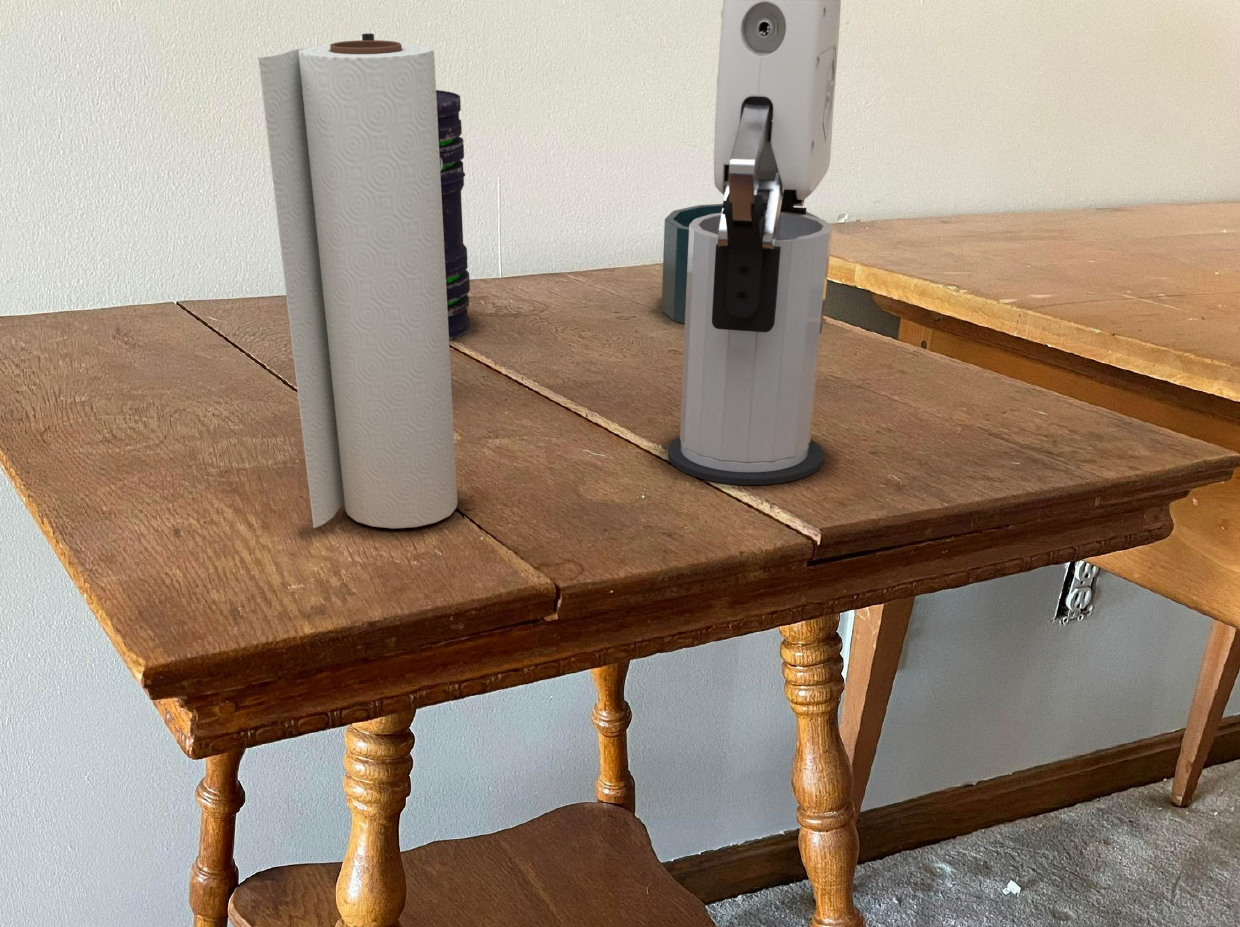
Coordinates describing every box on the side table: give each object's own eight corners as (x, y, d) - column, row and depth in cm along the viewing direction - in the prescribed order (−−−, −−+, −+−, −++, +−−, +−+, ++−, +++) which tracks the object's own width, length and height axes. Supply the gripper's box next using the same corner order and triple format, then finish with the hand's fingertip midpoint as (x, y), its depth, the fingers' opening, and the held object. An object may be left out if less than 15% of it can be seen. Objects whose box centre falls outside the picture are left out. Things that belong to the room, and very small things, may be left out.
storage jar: (374, 305, 108) (356, 85, 99) (491, 316, 105) (484, 91, 96) (315, 339, 100) (289, 104, 91) (439, 352, 98) (425, 111, 89)
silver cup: (815, 435, 82) (839, 214, 75) (799, 478, 77) (822, 244, 69) (693, 424, 84) (704, 207, 77) (668, 466, 78) (677, 236, 71)
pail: (818, 297, 109) (827, 207, 105) (799, 335, 101) (808, 238, 97) (679, 288, 112) (683, 200, 108) (649, 324, 103) (652, 230, 99)
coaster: (831, 438, 83) (832, 432, 83) (812, 492, 76) (813, 485, 76) (684, 426, 85) (685, 419, 85) (652, 477, 78) (653, 470, 78)
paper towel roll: (463, 490, 76) (441, 36, 63) (451, 533, 72) (425, 51, 59) (333, 489, 77) (285, 36, 64) (313, 531, 72) (257, 51, 59)
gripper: (845, -70, 58) (805, 354, 68) (882, -85, 71) (844, 272, 81) (669, -71, 59) (656, 344, 70) (737, -85, 73) (718, 265, 83)
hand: (757, 305), depth 75 cm, fingers open, 9 cm apart
